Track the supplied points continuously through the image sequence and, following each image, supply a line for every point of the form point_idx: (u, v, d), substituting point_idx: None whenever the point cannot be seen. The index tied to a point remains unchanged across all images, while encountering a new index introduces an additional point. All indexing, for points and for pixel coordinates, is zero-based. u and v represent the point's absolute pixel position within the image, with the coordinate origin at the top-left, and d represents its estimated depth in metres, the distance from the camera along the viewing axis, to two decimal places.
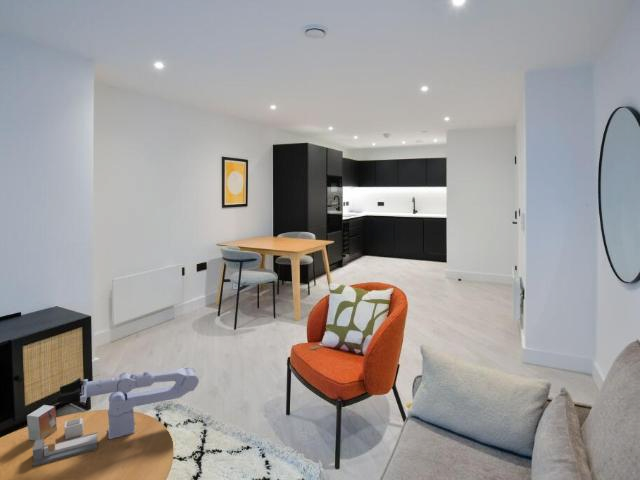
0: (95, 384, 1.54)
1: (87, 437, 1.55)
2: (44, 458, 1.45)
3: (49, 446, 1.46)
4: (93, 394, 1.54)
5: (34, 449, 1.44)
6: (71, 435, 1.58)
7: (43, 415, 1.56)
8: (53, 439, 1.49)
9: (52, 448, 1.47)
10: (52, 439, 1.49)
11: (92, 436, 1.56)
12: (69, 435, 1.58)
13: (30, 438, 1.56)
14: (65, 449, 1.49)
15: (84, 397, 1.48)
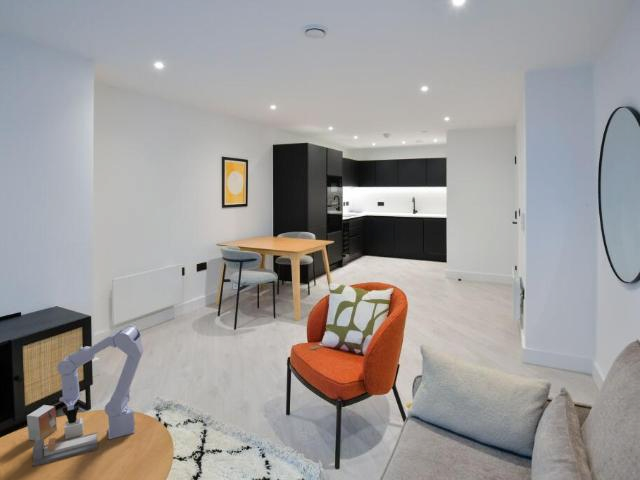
0: (63, 392, 1.55)
1: (87, 437, 1.55)
2: (44, 458, 1.45)
3: (49, 446, 1.46)
4: (74, 393, 1.57)
5: (34, 449, 1.44)
6: (71, 435, 1.58)
7: (43, 415, 1.56)
8: (53, 439, 1.49)
9: (52, 448, 1.47)
10: (52, 439, 1.49)
11: (92, 436, 1.56)
12: (69, 435, 1.58)
13: (30, 438, 1.56)
14: (65, 449, 1.49)
15: (68, 407, 1.52)
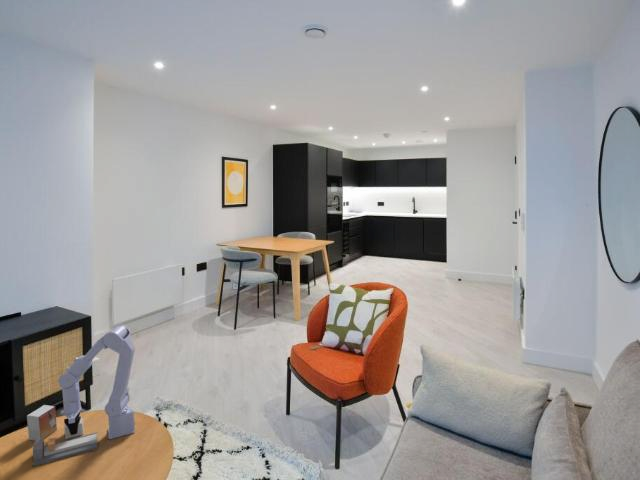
0: (64, 405, 1.56)
1: (87, 437, 1.55)
2: (44, 458, 1.45)
3: (49, 446, 1.46)
4: (75, 406, 1.57)
5: (34, 449, 1.44)
6: (71, 435, 1.58)
7: (43, 415, 1.56)
8: (53, 439, 1.49)
9: (52, 448, 1.47)
10: (52, 439, 1.49)
11: (92, 436, 1.56)
12: (69, 435, 1.58)
13: (30, 438, 1.56)
14: (65, 449, 1.49)
15: (69, 420, 1.53)
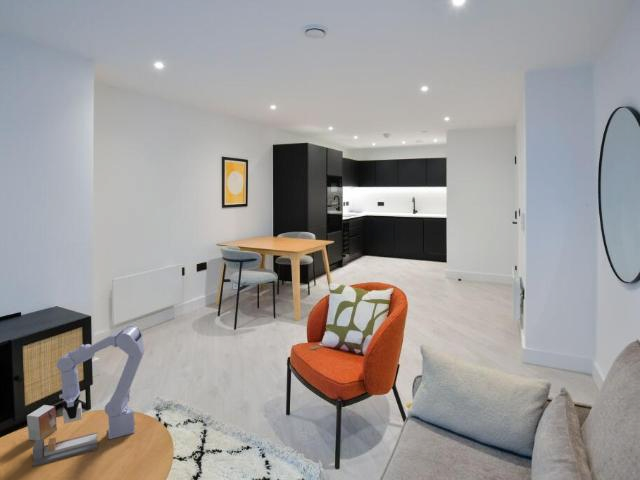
0: (63, 389, 1.55)
1: (87, 437, 1.55)
2: (44, 458, 1.45)
3: (49, 446, 1.46)
4: (74, 390, 1.56)
5: (34, 449, 1.44)
6: (69, 419, 1.57)
7: (43, 415, 1.56)
8: (53, 439, 1.49)
9: (52, 448, 1.47)
10: (52, 439, 1.49)
11: (92, 436, 1.56)
12: (67, 419, 1.57)
13: (30, 438, 1.56)
14: (65, 449, 1.49)
15: (68, 403, 1.52)
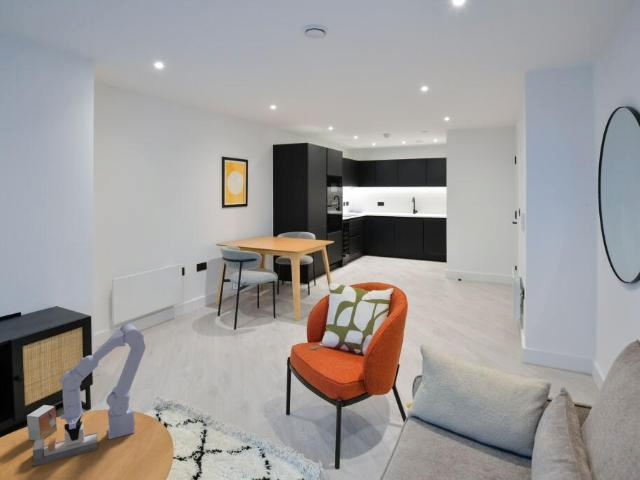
0: (65, 410, 1.48)
1: (87, 437, 1.55)
2: (44, 458, 1.45)
3: (49, 446, 1.46)
4: (76, 410, 1.49)
5: (34, 449, 1.44)
6: (71, 442, 1.49)
7: (43, 415, 1.56)
8: (53, 439, 1.49)
9: (52, 448, 1.47)
10: (52, 439, 1.49)
11: (92, 436, 1.56)
12: (69, 442, 1.49)
13: (30, 438, 1.56)
14: (65, 449, 1.49)
15: (70, 425, 1.44)
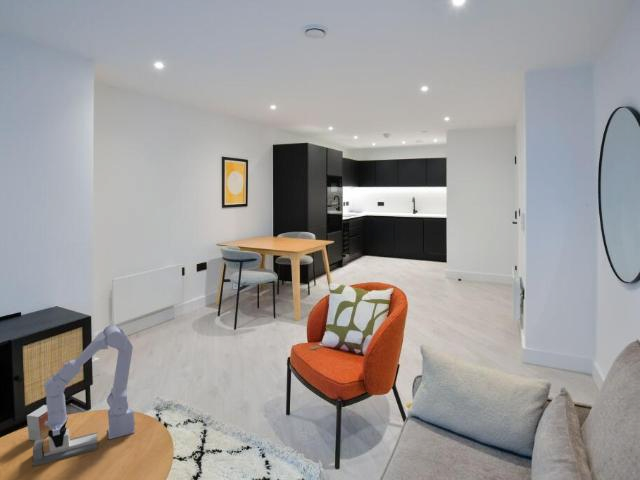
0: (49, 416, 1.45)
1: (87, 437, 1.55)
2: (44, 458, 1.45)
3: (44, 447, 1.46)
4: (60, 416, 1.46)
5: (34, 449, 1.44)
6: None
7: (43, 415, 1.56)
8: (48, 440, 1.48)
9: (47, 449, 1.46)
10: (47, 440, 1.48)
11: (92, 436, 1.56)
12: (54, 447, 1.47)
13: (30, 438, 1.56)
14: (65, 449, 1.49)
15: (53, 432, 1.42)
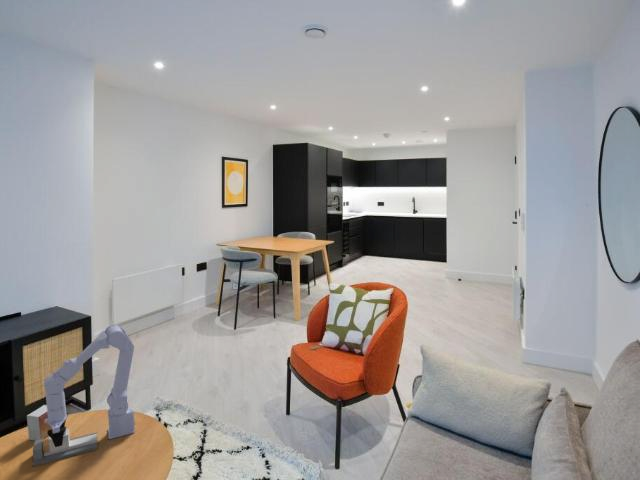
0: (48, 413, 1.45)
1: (87, 437, 1.55)
2: (44, 458, 1.45)
3: (44, 447, 1.46)
4: (60, 414, 1.46)
5: (34, 449, 1.44)
6: (56, 447, 1.47)
7: (43, 415, 1.56)
8: (48, 440, 1.48)
9: (47, 449, 1.46)
10: (47, 440, 1.48)
11: (92, 436, 1.56)
12: (54, 447, 1.47)
13: (30, 438, 1.56)
14: (65, 449, 1.49)
15: (53, 429, 1.42)
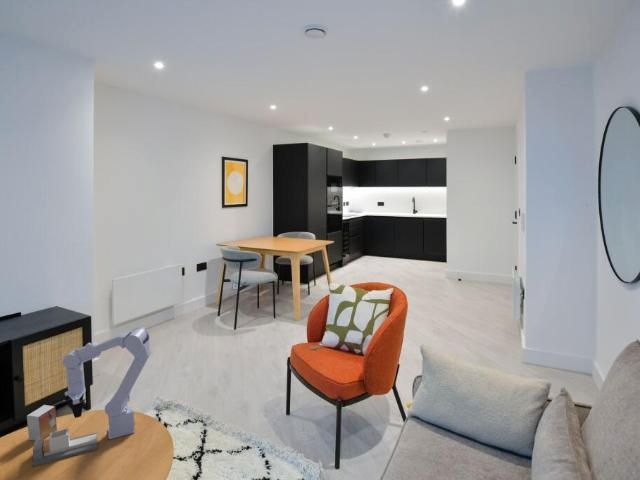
0: (69, 386, 1.55)
1: (87, 437, 1.55)
2: (44, 458, 1.45)
3: (44, 447, 1.46)
4: (79, 387, 1.56)
5: (34, 449, 1.44)
6: (56, 447, 1.47)
7: (43, 415, 1.56)
8: (48, 440, 1.48)
9: (47, 449, 1.46)
10: (47, 440, 1.48)
11: (92, 436, 1.56)
12: (54, 447, 1.47)
13: (30, 438, 1.56)
14: (65, 449, 1.49)
15: (73, 400, 1.52)
